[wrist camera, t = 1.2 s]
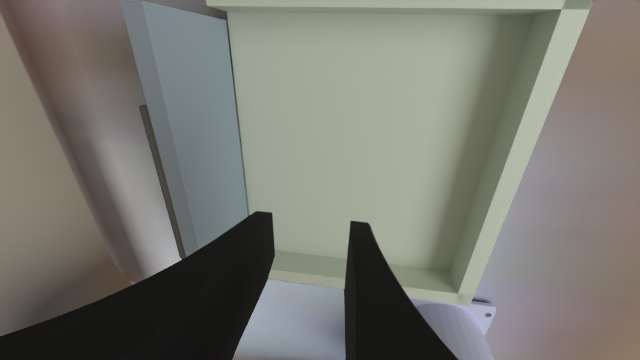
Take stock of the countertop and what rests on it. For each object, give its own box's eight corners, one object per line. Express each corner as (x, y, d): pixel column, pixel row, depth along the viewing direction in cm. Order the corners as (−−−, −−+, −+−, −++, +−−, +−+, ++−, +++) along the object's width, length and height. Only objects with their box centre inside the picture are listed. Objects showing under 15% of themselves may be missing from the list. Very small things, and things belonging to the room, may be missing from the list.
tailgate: (251, 245, 21) (212, 312, 15) (230, 242, 21) (185, 308, 16) (226, 20, 14) (141, 0, 9) (196, 19, 14) (95, 0, 9)
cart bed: (453, 268, 21) (469, 306, 18) (260, 245, 23) (244, 275, 20) (544, -5, 13) (602, -22, 10) (236, -6, 15) (203, -21, 12)
